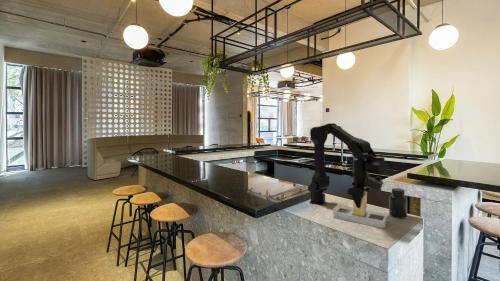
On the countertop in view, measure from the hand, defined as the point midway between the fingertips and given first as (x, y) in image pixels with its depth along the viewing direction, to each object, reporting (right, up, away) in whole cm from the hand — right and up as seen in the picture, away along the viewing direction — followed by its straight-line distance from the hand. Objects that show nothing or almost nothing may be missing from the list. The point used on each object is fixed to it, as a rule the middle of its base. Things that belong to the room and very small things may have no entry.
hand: (359, 206), depth 105 cm
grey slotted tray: (0, -6, +1) cm, 6 cm away
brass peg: (0, -4, 0) cm, 4 cm away
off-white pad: (-1, -5, +13) cm, 14 cm away
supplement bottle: (+18, -5, +3) cm, 19 cm away
